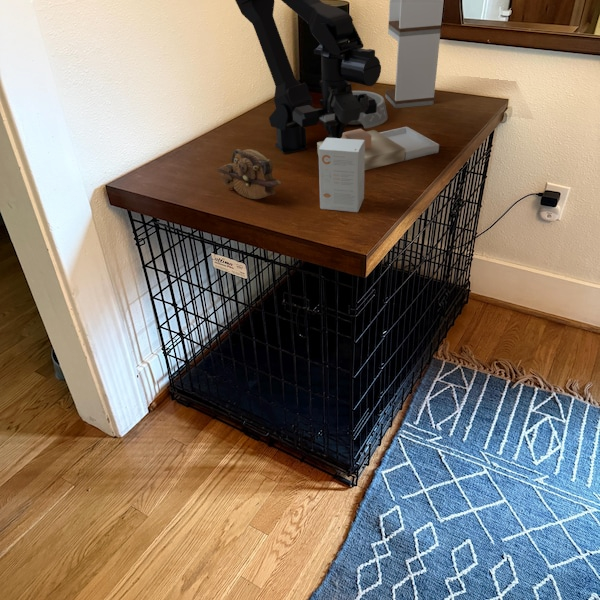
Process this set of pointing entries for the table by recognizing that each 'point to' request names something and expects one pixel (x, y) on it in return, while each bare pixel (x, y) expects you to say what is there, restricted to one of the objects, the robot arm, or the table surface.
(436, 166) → the table surface
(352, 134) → the tall peach block
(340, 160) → the small box
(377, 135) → the platform
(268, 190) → the wooden carving
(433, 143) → the bin
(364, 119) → the dog bowl
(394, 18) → the banded white pillar
